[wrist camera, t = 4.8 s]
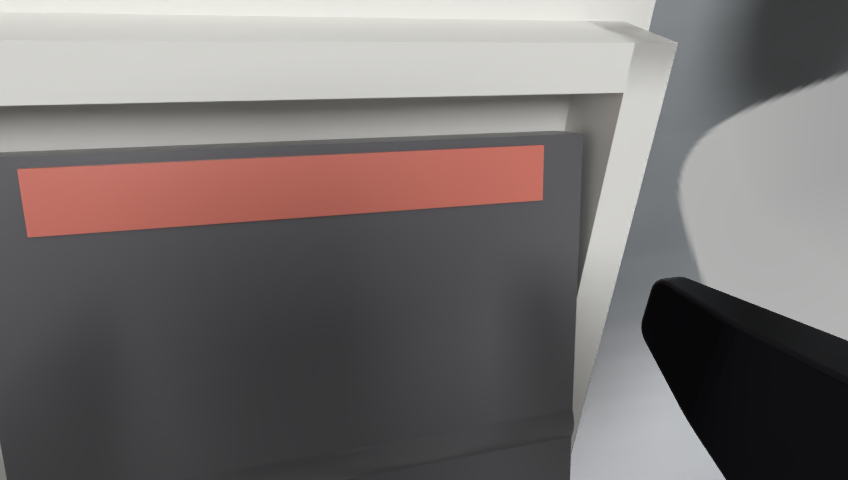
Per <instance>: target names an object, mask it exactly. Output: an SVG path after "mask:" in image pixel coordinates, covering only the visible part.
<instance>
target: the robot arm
mask: <svg viewBox="0 0 848 480" xmlns="http://www.w3.org/2000/svg"><path fill="white" fill-rule="evenodd" d="M641 329H642V334H643V338H644V340H645V342H646V344H647V346H648V347H649V349H650V351H651V353H652V355H653V357H654V359H655V361H656V363H657V364H658V366H659V368H660V370H661V372H662V374H663V376H664V378H665V380H666V382H667V383H668V385H669V387H670V389H671V391H672V393H673V395H674V397H675V399H676V400H677V402H678V404H679V406H680V408H681V410H682V412H683V413H684V415H685V417H686V419H687V420H688V422H689V424H690V425H691V427H692V428H693V430H694V432H695V433H696V435H697V436H698V438H699V439H700V441H701V442H702V444H703V445H704V447H705V448H706V450H707V451H708V453H709V455H710V456H711V458H712V459H713V461H714V462H715V464H716V465H717V467H718V468H719V470H720V471H721V473H722V474H723V476H724V477H725V479H726V480H848V341H847V340H844V339H842V338H839V337H836V336H834V335H831V334H829V333H826V332H824V331H821V330H819V329H816V328H813V327H811V326H808V325H806V324H803V323H800V322H798V321H795V320H793V319H790V318H788V317H785V316H783V315H780V314H777V313H775V312H772V311H770V310H767V309H764V308H762V307H759V306H757V305H754V304H752V303H749V302H747V301H744V300H741V299H739V298H736V297H733V296H731V295H729V294H726V293H723V292H721V291H718V290H716V289H713V288H710V287H708V286H706V285H703V284H700V283H698V282H695V281H693V280H690V279H688V278H685V277H672V278H664V279H660V280H658V281H656V282H655V283H654V285H653V286H652V289H651V292H650V296H649V299H648V302H647V306H646V309H645V312H644V316H643V319H642V325H641Z"/></svg>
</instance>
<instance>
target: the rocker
mask: <svg viewBox="0 0 848 480" xmlns="http://www.w3.org/2000/svg"><path fill="white" fill-rule="evenodd" d="M582 151H583V134H582V133H573V132H565V131H533V132H507V133H481V134H456V135H430V136H405V137H379V138H353V139H328V140H302V141H276V142H251V143H225V144H199V145H174V146H148V147H123V148H97V149H71V150H46V151H20V152H0V444H1V450H2V455H3V461H4V467H5V472H6V478H7V480H570V460H571V436H572V434H573V430H574V416H573V410H572V409H573V383H574V357H575V331H576V306H577V280H578V254H579V228H580V203H581V177H582Z"/></svg>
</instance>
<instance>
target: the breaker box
mask: <svg viewBox="0 0 848 480" xmlns="http://www.w3.org/2000/svg"><path fill="white" fill-rule="evenodd" d="M655 1H656V0H0V152H20V151H46V150H71V149H97V148H123V147H148V146H174V145H199V144H225V143H251V142H276V141H302V140H328V139H353V138H379V137H405V136H430V135H456V134H481V133H507V132H533V131H565V132H573V133H582V134H583V151H582V177H581V203H580V228H579V254H578V280H577V306H576V331H575V357H574V383H573V409H572V410H573V416H574V430H573V434H572V436H571V452H572V448H573V444H574V441H575V437H576V433H577V429H578V425H579V421H580V418H581V414H582V410H583V406H584V402H585V398H586V395H587V391H588V387H589V383H590V379H591V375H592V372H593V368H594V364H595V360H596V356H597V352H598V348H599V345H600V341H601V337H602V333H603V329H604V325H605V322H606V318H607V314H608V310H609V306H610V302H611V299H612V295H613V291H614V287H615V283H616V279H617V276H618V272H619V268H620V264H621V260H622V256H623V253H624V249H625V245H626V241H627V237H628V233H629V230H630V226H631V222H632V218H633V214H634V210H635V207H636V203H637V199H638V195H639V191H640V187H641V183H642V180H643V176H644V172H645V168H646V164H647V160H648V157H649V153H650V149H651V145H652V141H653V137H654V134H655V130H656V126H657V122H658V118H659V114H660V111H661V107H662V103H663V99H664V95H665V91H666V88H667V84H668V80H669V76H670V72H671V68H672V65H673V61H674V57H675V53H676V49H677V45H678V43H677V42H674V41H672V40H669V39H667V38H664V37H662V36H659V35H657V34H654V33H652V32H649V27H650V23H651V18H652V14H653V10H654V6H655ZM0 480H7V478H6V472H5V467H4V461H3V455H2V450H1V444H0Z"/></svg>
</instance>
